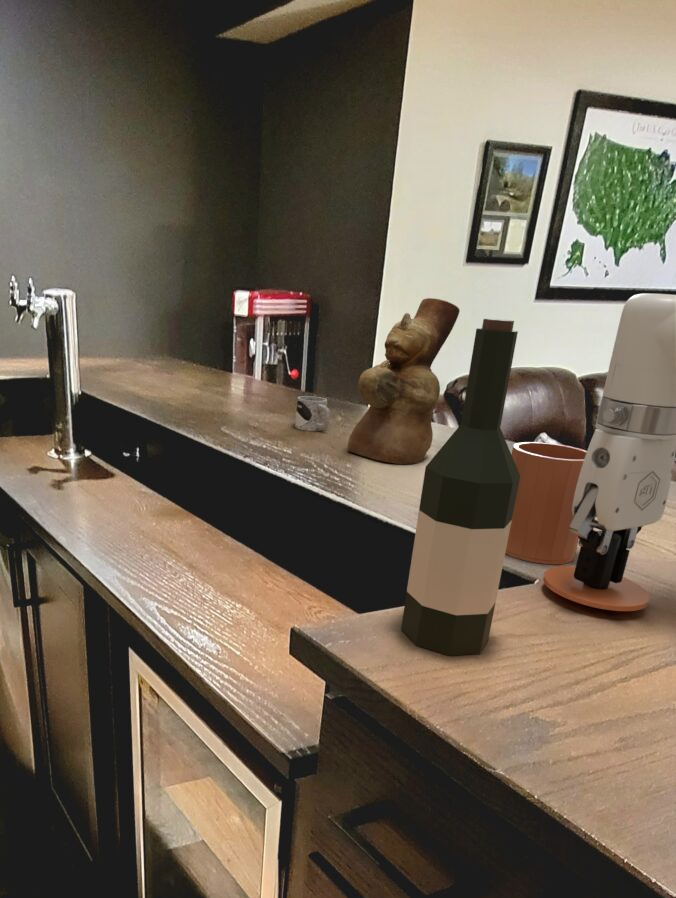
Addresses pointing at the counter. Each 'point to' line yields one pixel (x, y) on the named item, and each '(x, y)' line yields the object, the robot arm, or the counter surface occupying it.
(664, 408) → the robot arm
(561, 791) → the counter surface
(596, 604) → the shaker lid
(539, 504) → the cup
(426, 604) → the wine bottle
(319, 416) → the mug
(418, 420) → the ceramic vessel
